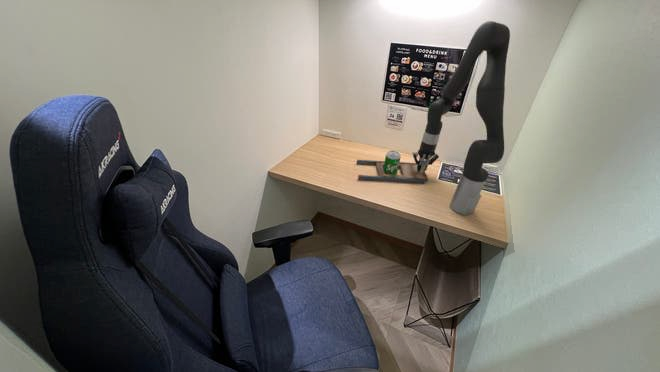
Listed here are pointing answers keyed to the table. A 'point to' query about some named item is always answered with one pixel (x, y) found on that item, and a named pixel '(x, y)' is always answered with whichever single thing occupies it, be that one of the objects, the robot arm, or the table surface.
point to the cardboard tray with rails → (405, 171)
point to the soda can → (391, 162)
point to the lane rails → (384, 178)
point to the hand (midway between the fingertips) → (421, 170)
